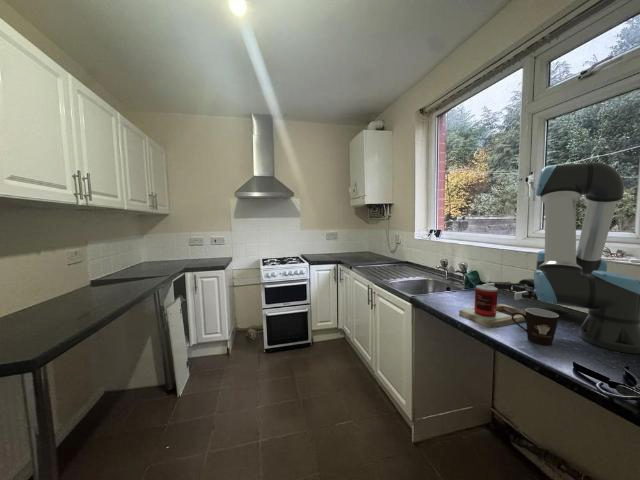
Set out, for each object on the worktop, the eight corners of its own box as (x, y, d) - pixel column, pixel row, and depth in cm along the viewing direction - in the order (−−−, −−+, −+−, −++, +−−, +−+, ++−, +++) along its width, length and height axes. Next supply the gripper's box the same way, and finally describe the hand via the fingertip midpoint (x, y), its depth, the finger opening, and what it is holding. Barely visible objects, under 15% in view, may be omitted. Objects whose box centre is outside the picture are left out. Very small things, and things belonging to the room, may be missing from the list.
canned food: (489, 310, 112) (491, 285, 111) (500, 317, 104) (502, 290, 103) (470, 309, 113) (472, 284, 112) (479, 316, 105) (481, 289, 104)
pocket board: (535, 318, 109) (536, 313, 108) (490, 327, 100) (490, 322, 100) (502, 307, 122) (502, 303, 121) (459, 314, 113) (459, 309, 113)
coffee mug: (560, 342, 88) (562, 313, 87) (551, 350, 83) (554, 319, 82) (518, 330, 97) (520, 304, 96) (509, 336, 93) (510, 308, 92)
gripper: (565, 304, 106) (530, 310, 99) (503, 288, 129) (471, 292, 122) (566, 285, 105) (531, 290, 98) (504, 273, 129) (472, 276, 121)
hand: (498, 291), depth 110 cm, fingers open, 13 cm apart
